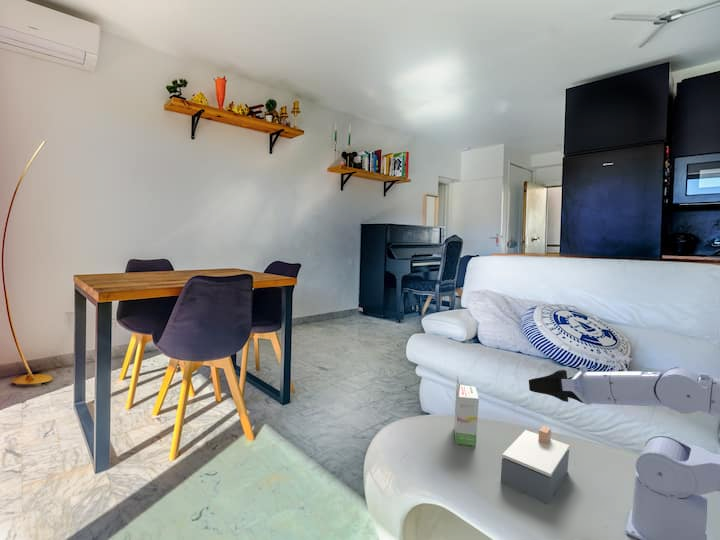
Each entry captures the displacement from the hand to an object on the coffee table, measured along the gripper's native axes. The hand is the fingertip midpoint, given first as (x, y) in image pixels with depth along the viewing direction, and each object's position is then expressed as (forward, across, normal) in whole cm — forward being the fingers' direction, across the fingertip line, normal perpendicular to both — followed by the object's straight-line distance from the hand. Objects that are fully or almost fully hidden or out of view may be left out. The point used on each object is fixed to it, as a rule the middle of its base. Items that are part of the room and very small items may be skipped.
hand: (538, 386), depth 75 cm
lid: (+3, -4, +13) cm, 14 cm away
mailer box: (+5, -5, +18) cm, 19 cm away
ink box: (+22, -7, +12) cm, 26 cm away
